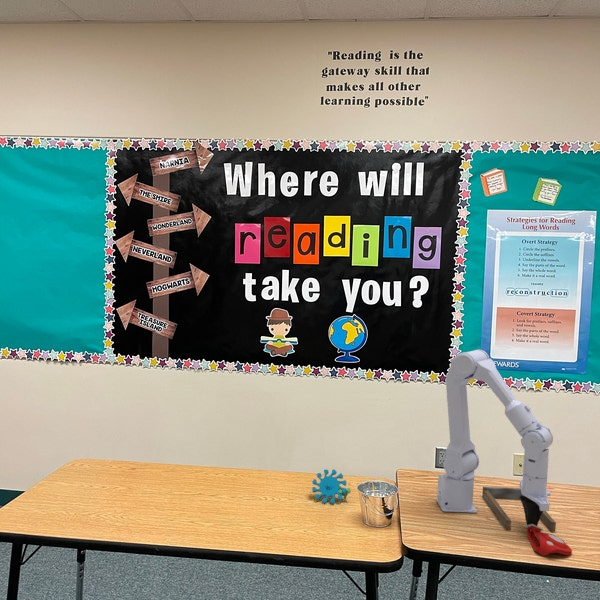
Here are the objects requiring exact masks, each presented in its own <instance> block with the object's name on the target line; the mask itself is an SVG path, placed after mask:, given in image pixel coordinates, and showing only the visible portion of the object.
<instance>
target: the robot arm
mask: <svg viewBox="0 0 600 600" xmlns="http://www.w3.org/2000/svg"><path fill="white" fill-rule="evenodd" d="M471 380H476V381H480V382H483V383H485V384H486V385H487V386H488V388H489V389H490V390H491V391H492V392H493V393H494V395H495V396H496V397H497V399H499V401H500V403H502V405H503V406H504V407H505V409H504V415H505V416H506V417H507V419H508V420H509V422H510V423H511V424H512V426H513V428H514V429H515V430H516V432H518V434H519V436H520V437H522V438H521V439H520V443H521V446H522V448H523V450H524V454H523V466H522V467H523V469H522V480H521V479H520V480H519V486H518V488H521V493H522V494H523V495H524V496H520V502H521V505H522V507H523V513H524V517H525V523H526V525H530V524H534V525H536V526H538V524H539V522H540V517H541V515H542V513H543V511H546V512H550V502H549V501H548V497H550V496H552V493H551V491H549V490H547V485H548V484H547V483H548V471H549V470H548V469H549V452H550V451H549V450H550V446H551V445H552V443H553V442H554V438H553V434H552V432H551V429H550V428H549V427H547V426H546V425H543V424H542V422H541V421H539V420H538V419H537V418H536V416H535V415H534V414H533V412H532V411H531V410H532V409H531V408H532V407H531V406H530V405H529V404H526V403H525V402H524V401H521V400H518V399H517V398H516V396H515V395H514V394H513V392H512V390H511V389H510V388H509V386H508V384H507V383H506V381H505V380H504V378H503V377H502V375H501V374H500V372H499V371H498V369H497V367H496V365H495V361H494V360H493V359H492V358H490V356H489V354H488V353H487V352H486V351H485V350H482V349H479V348H478V349H474V350H471V351H466V352H465V351H464V352H459V353H458V354H456V355H455V356H454V357H453V358H452V359H451V360H450V367H449V369H448V371H447V374H446V376H445V385H446V387H445V388H446V389H445V390H446V403H447V413H448V427H449V428H448V429H449V443H448V444H447V447H446V448H445V458H444V460H443V463H442V464H443V465H442V466H443V469H444V471H445V473H443V474H439V475H438V479H437V494H436V501H437V503H438V505H439V508H440V510H441V511H442V512H446V513H449V512H450V513H453V512H454V513H472V514H476V513H477V512H478V510H477V508H476V507H475V505H474V504H473V503H474V486H475V485H474V484H475V483H474V481H475V470H477V468H478V467H479V466H480V459H479V456H478V453H477V452H476V445H475V444H474V443H473V442H472V440H471V431H470V419H469V405H468V403H469V402H468V391H467V390H468V389H467V384H468V383H469V382H470V381H471Z"/></svg>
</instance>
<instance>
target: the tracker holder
mask: <svg viewBox="0 0 600 600" xmlns="http://www.w3.org/2000/svg"><path fill="white" fill-rule="evenodd" d="M525 527H526V528H527V529H526V533H527V536H528V540H529V542H530V544H531V547H532V549H533V551H535V552H536V553H538V554H539V555H541V556H543V557H545V556H547V555H549V554H556V553H557V554H561V555H565V556H572V552H573V550H572V548H571V547H570V546H569V545H568V544H567V543H566V542H565V540H564V539H561V538H560V537H558V536H556V535H554V534H552V533H545V532H542V531H544V528H542V527H540V526H538V525H537V526H536V525H534V524H530V525H527V524H526V525H525Z"/></svg>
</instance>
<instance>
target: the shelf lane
mask: <svg viewBox="0 0 600 600" xmlns="http://www.w3.org/2000/svg"><path fill="white" fill-rule="evenodd" d="M520 496H524V495H523V494H522V493H521V488H520V487H502V486H501V487H500V486H498V487H497V486H482V496H481V497H482V498H483V501H485V503H486V505H488V506H489V508H490V510H491V511H492V512H493V514H494V515H495V517H496V518H497V519H498V521H499V522H500V524H501V525H502V527H503V528H504V530H505V531H511V527H512V520H511V518H510V517H509V516H508V515H507V513H506V512H505V511H504V509H503V507H502V506H501V505H500V504H499V503H498V501H497V499H498V500H520ZM520 501H521V500H520ZM539 521H540V522H541V523H542V524H543V525H544V526H545V527H546V528H547V529H548V530H549V531H550V532H552V533H553V532H554V533H555V532H556V529H557V528H556V527H557V526H556V525H557V521H556V520H554V518H553V517H552V516H551V515H550V514H549V513H548V511H543V513H542V515H541V517H540V519H539Z"/></svg>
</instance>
